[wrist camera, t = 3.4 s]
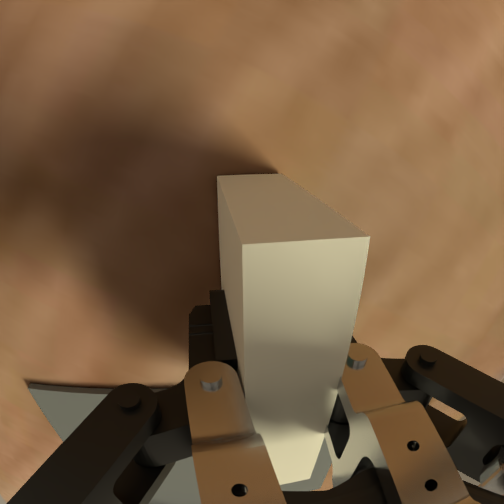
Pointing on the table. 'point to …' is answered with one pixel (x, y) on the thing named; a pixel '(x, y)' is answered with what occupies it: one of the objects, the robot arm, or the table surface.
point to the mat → (183, 472)
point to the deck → (288, 308)
